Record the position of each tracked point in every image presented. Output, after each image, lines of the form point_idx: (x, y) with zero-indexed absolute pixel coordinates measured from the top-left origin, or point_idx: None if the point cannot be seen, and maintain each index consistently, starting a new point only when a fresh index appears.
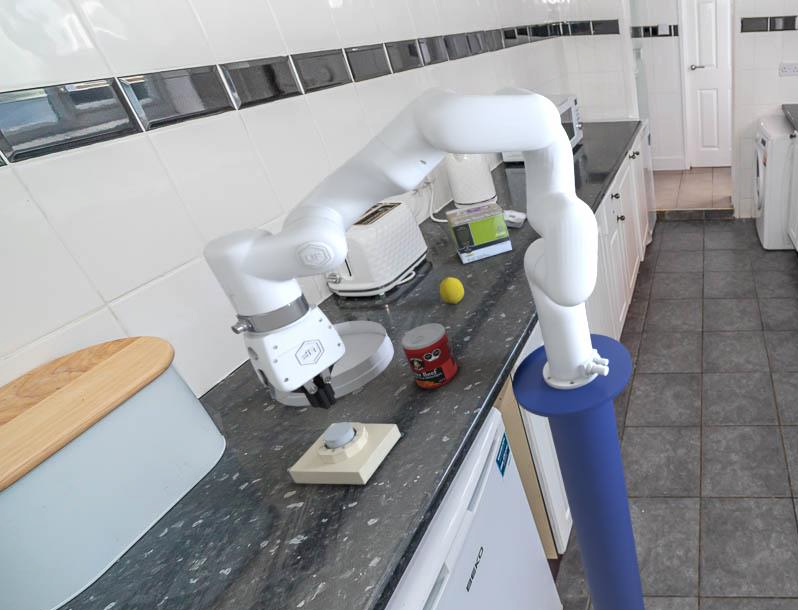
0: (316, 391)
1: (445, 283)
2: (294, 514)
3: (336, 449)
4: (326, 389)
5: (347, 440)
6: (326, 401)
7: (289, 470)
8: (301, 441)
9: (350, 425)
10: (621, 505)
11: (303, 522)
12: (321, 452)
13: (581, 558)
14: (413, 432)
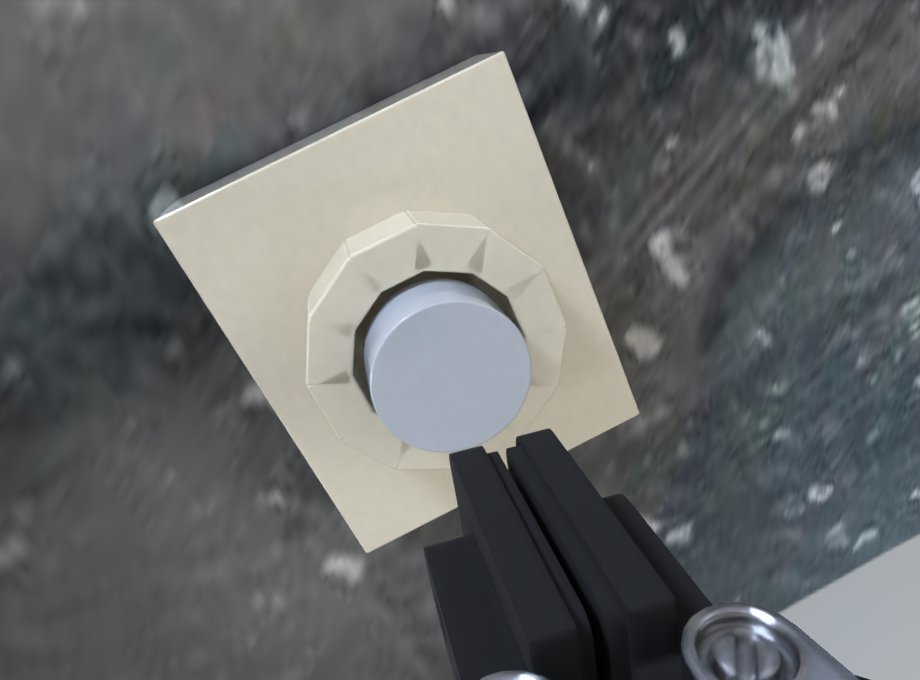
0: (669, 626)
1: None
2: (700, 211)
3: (505, 281)
4: (558, 585)
5: (438, 285)
6: (563, 476)
7: (637, 411)
8: None
9: (379, 353)
10: None
11: (714, 127)
12: (554, 339)
13: None
14: (109, 156)
